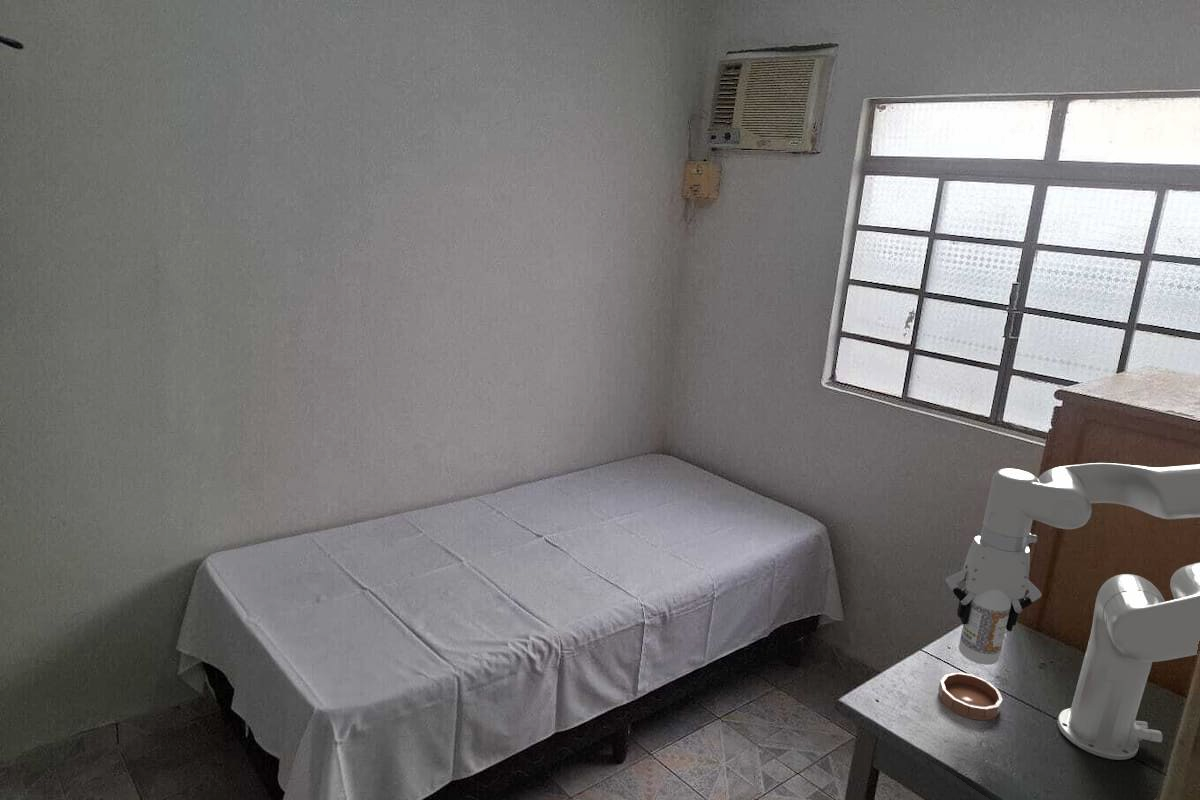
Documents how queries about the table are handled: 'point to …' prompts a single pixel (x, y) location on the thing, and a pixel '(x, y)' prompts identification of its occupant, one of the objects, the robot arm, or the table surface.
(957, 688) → the ring dish
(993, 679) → the table surface
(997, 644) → the bath foam
